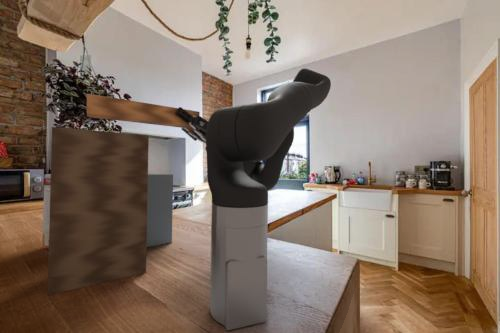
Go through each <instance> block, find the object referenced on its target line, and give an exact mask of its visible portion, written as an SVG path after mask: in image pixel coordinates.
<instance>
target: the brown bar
mask: <svg viewBox="0 0 500 333" xmlns="http://www.w3.org/2000/svg"><path fill="white" fill-rule="evenodd" d="M178 108H179V107H172V106H166V105H160V104H153V103H146V102H142V101H137V100H130V99H129V100H128V99H123V98H118V97H111V96H110V97H109V96H106V95H105V96H104V95H99V94H92V93H86V118H94V119H105V120H111V121H122V122H129V123H139V124H146V125H153V126H154V125H156V126H163V127H164V126H165V127H172V128H174V127H175V128H181V129H182V128H189V129H193V128H192V127H191V126H190V125H189V124H188V123H189V122H188V123H186V122H185V121H184V120H182V119H181V118H179V117H178V116H177V115H176V114H175V112H176V111H177V109H178ZM183 109H184V110H185V111H187V112H188V113H189V114H191V115H192V116H193V115H194V116H196V117H197V116H200V111H197V110H196V111H195V110H191V109H185V108H183Z"/></svg>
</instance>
